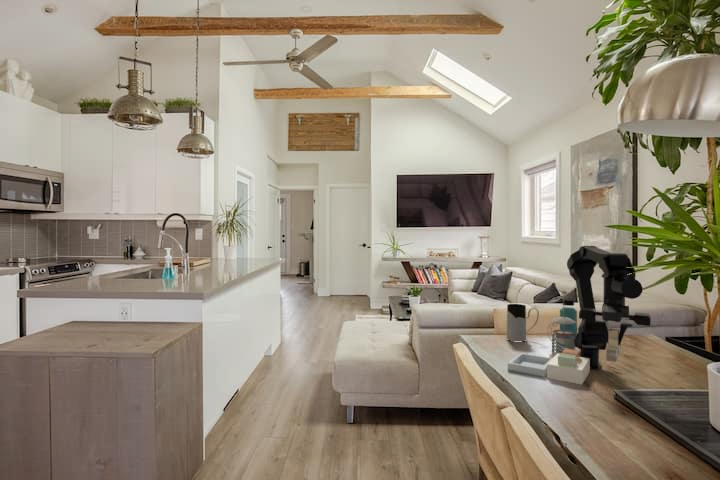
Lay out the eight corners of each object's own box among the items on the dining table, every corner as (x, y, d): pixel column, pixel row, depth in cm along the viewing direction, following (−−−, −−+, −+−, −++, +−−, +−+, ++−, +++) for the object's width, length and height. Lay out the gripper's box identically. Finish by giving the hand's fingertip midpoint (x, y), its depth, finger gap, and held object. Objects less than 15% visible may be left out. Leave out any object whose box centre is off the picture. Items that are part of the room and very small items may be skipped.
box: (520, 359, 154) (520, 352, 154) (554, 365, 147) (554, 358, 147) (507, 370, 142) (507, 363, 142) (543, 377, 135) (543, 369, 135)
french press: (564, 363, 150) (564, 293, 149) (539, 354, 161) (539, 289, 160) (584, 360, 154) (585, 291, 153) (558, 351, 164) (559, 288, 164)
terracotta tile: (565, 355, 144) (565, 348, 144) (579, 358, 141) (579, 350, 141) (562, 358, 140) (562, 351, 140) (577, 361, 137) (577, 353, 137)
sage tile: (560, 360, 138) (560, 353, 138) (575, 363, 135) (576, 355, 135) (557, 364, 134) (557, 356, 134) (573, 366, 132) (573, 359, 132)
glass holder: (502, 337, 187) (502, 303, 186) (533, 336, 188) (533, 303, 187) (510, 342, 178) (510, 307, 178) (543, 342, 179) (543, 306, 179)
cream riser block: (557, 366, 147) (557, 353, 147) (589, 371, 141) (589, 358, 141) (547, 378, 135) (547, 364, 135) (582, 384, 129) (582, 370, 129)
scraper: (611, 349, 137) (611, 325, 136) (620, 351, 135) (620, 326, 135) (606, 360, 125) (606, 333, 125) (616, 362, 124) (616, 335, 124)
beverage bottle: (580, 351, 164) (581, 300, 164) (563, 351, 164) (563, 300, 164) (572, 347, 171) (573, 298, 170) (556, 347, 171) (556, 298, 170)
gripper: (576, 294, 129) (575, 345, 129) (649, 300, 118) (649, 355, 118) (582, 290, 138) (581, 337, 138) (651, 295, 127) (650, 346, 127)
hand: (613, 344), depth 130 cm, fingers closed on scraper, 2 cm apart
